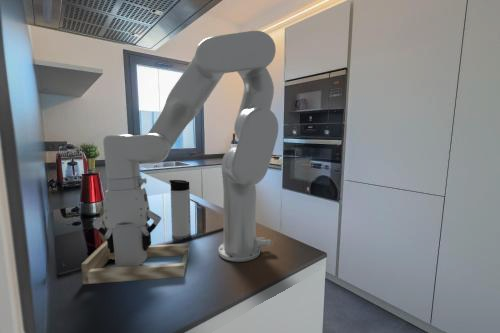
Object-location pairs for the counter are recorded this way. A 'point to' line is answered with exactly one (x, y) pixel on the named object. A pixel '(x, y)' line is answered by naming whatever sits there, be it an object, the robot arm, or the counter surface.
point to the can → (128, 245)
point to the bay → (100, 257)
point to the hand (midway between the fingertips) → (130, 249)
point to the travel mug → (180, 209)
